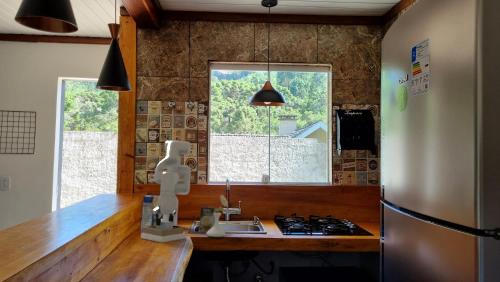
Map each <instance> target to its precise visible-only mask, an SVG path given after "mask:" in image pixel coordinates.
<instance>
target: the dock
mask: <svg viewBox="0 0 500 282" xmlns="http://www.w3.org/2000/svg"><path fill="white" fill-rule="evenodd" d="M184 229H185V228H184V227H174V228H173V229H168V230H159V229H156V225H155V226H146V227H142V232H141V231H140V233H141V234H140V238H141V239H142V240H143V239H144V240H150V241H153V242H158V243H164V242H172V241H177V240H182V239H183V240H184V239H186V232H184Z"/></svg>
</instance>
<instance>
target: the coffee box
mask: <svg viewBox="0 0 500 282" xmlns="http://www.w3.org/2000/svg"><path fill="white" fill-rule="evenodd" d="M215 208H216V207H215V206H214V207H212V206H201V207H200V213H199V223H198V233H199V234H206V233H207V232H208V231H209V230H210V229H211V228H212V227H213V226H214V224H215V217H214V214H213V213H217V211H216V210H215Z"/></svg>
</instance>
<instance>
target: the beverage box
mask: <svg viewBox="0 0 500 282" xmlns="http://www.w3.org/2000/svg"><path fill="white" fill-rule="evenodd" d="M159 196H160V195H155V194H154V195H143V199H142V213H141V223H140V235H141V232H142V227H146V226H155V225H156V218H155V216H154V212H153V210H154V209H156V207H157V201H158V197H159ZM159 215H160V214H159ZM160 218H161V219H162V216H161V217H160Z"/></svg>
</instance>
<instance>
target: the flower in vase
mask: <svg viewBox="0 0 500 282" xmlns="http://www.w3.org/2000/svg"><path fill="white" fill-rule="evenodd" d="M219 199H220V202H221V203H220V205H219V208H217V207H215V210H216V213H213V214H214V217H215V224H214V226H213V227H212V228H211V229H210V230H209V231H208V232H207V233H205V234H206V235H207V236H209V237H212V238H222V237H225V235H226V232H225V231H224V230H223V229H222V228H221V227H220V225H219V221H220V217H221V215H222V213H221V212H223V211H224V208H225V207H226V208H228V206H229V205H228V204H229V202H228V200H227V198H226V197H225V195H224V194H221V195H220V197H219ZM221 205H222V206H224V208H223V207H222V206H221ZM220 211H221V212H220Z"/></svg>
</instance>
